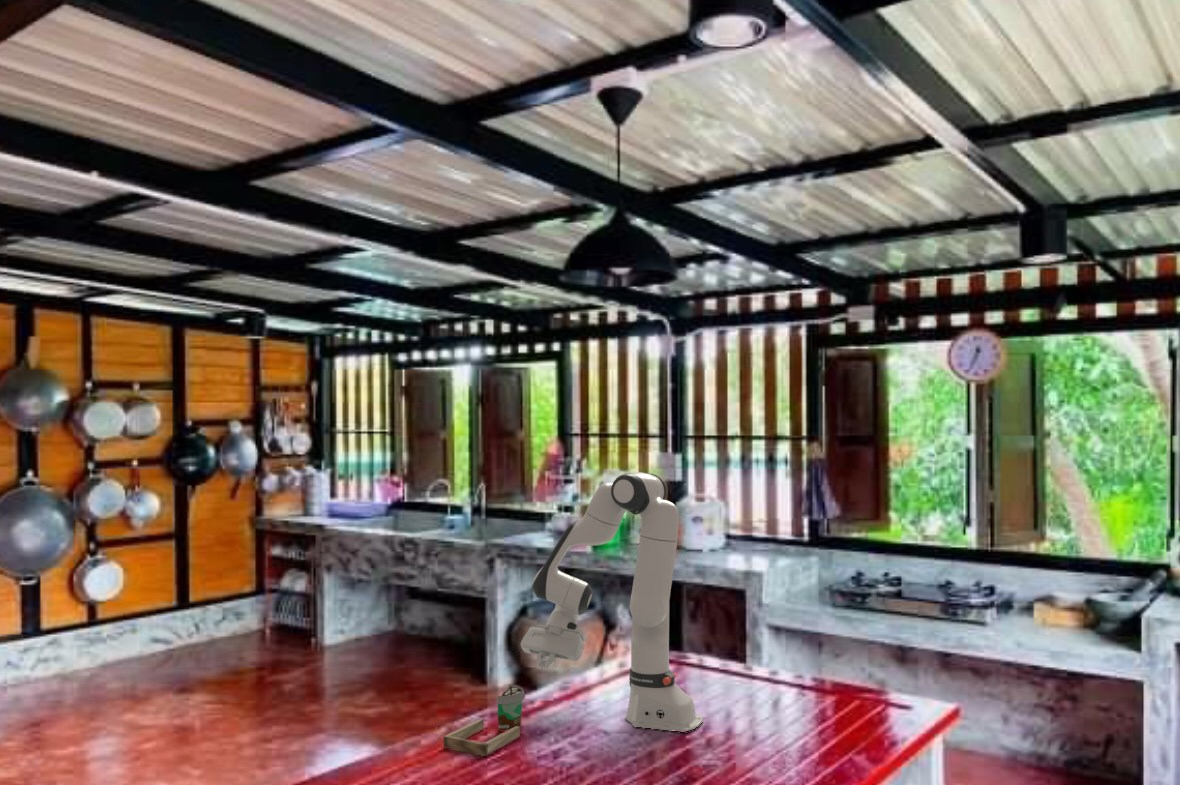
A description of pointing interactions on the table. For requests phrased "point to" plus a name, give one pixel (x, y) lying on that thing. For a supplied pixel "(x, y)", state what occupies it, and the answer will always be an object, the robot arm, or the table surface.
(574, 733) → the table surface
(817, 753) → the table surface
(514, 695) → the food container
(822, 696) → the table surface
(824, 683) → the table surface
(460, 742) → the wooden u-shaped frame
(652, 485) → the robot arm
